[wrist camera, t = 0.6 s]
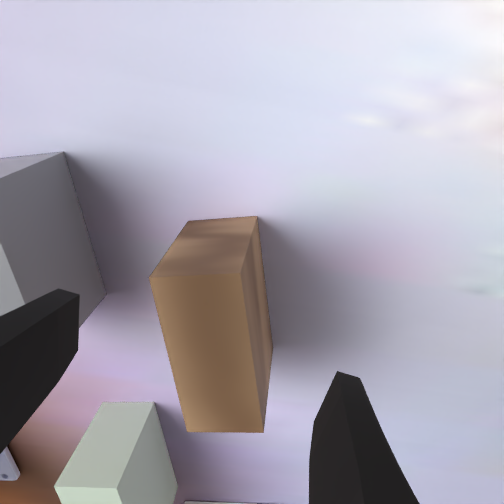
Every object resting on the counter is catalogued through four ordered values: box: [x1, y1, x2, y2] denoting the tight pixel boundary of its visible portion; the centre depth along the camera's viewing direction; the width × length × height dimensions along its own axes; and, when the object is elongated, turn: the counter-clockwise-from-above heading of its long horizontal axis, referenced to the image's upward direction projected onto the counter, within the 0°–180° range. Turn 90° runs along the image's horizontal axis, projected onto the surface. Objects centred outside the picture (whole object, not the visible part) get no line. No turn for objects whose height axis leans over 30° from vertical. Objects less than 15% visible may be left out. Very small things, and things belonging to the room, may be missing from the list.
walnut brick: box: [149, 216, 273, 433], centre depth 20 cm, size 4×8×6 cm, turn 7°
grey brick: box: [0, 152, 106, 328], centre depth 20 cm, size 4×8×6 cm, turn 7°
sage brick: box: [54, 402, 178, 504], centre depth 26 cm, size 4×8×6 cm, turn 7°
